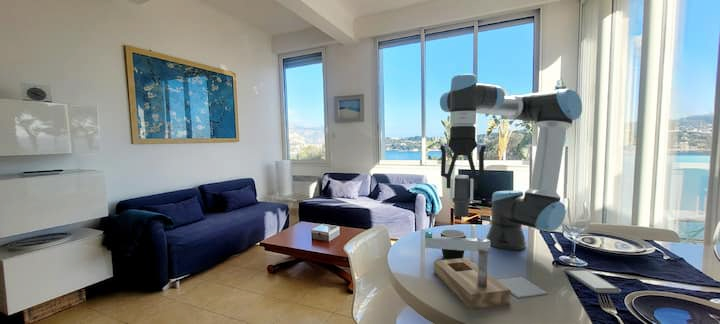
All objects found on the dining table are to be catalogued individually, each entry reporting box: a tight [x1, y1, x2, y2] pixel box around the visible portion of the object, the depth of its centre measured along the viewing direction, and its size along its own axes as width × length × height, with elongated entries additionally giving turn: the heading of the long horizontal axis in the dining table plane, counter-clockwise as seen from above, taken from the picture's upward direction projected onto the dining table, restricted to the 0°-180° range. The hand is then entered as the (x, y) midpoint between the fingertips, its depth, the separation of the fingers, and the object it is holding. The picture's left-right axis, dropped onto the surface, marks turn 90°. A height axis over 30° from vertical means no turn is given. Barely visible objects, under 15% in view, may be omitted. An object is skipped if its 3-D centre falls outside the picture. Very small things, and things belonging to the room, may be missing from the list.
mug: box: [440, 228, 467, 260], centre depth 111 cm, size 12×9×10 cm
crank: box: [424, 231, 491, 254], centre depth 83 cm, size 18×4×4 cm, turn 77°
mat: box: [497, 276, 548, 299], centre depth 88 cm, size 10×10×1 cm
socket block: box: [433, 252, 512, 310], centre depth 89 cm, size 12×22×14 cm, turn 12°
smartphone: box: [563, 267, 622, 294], centre depth 92 cm, size 7×1×15 cm
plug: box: [451, 174, 471, 218], centre depth 92 cm, size 5×5×13 cm
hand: (461, 198), depth 92 cm, fingers closed on plug, 5 cm apart
